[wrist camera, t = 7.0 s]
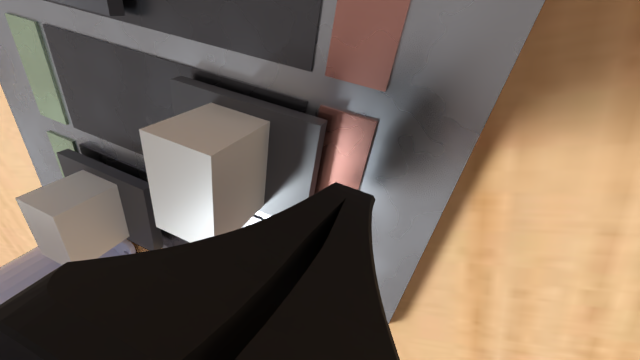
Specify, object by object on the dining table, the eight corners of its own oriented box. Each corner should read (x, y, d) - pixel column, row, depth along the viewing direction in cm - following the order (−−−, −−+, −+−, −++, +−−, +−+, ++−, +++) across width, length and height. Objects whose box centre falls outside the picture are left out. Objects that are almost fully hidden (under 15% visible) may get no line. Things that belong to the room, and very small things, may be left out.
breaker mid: (309, 220, 12) (263, 285, 10) (190, 173, 14) (118, 216, 11) (327, 120, 10) (273, 164, 7) (182, 75, 12) (87, 97, 9)
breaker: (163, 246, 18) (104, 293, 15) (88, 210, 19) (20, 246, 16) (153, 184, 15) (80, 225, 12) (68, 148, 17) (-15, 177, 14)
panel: (381, 325, 17) (375, 353, 15) (66, 180, 22) (42, 191, 21) (593, -129, 7) (624, -161, 6) (-60, -178, 13) (-119, -200, 11)
